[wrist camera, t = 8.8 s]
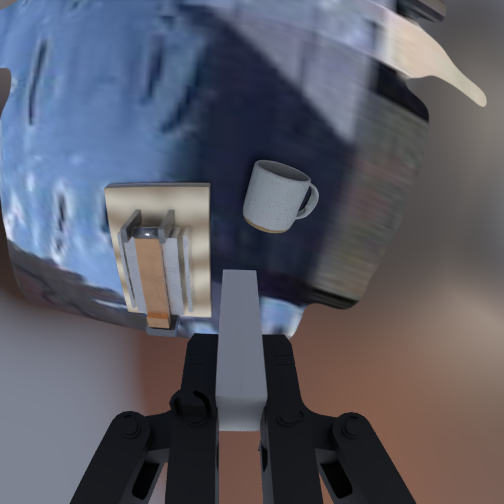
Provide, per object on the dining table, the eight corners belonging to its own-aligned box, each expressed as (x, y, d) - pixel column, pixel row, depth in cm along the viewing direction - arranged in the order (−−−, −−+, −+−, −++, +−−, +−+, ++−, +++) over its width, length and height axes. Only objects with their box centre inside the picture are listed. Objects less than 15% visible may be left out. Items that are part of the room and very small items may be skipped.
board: (109, 184, 38) (104, 188, 36) (210, 182, 39) (208, 187, 37) (131, 304, 50) (128, 311, 48) (211, 309, 51) (211, 317, 50)
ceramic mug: (239, 208, 41) (240, 231, 35) (253, 155, 37) (257, 168, 31) (305, 222, 43) (318, 247, 37) (322, 174, 39) (340, 191, 33)
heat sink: (122, 209, 38) (105, 228, 33) (190, 210, 39) (181, 229, 33) (140, 309, 48) (131, 335, 43) (196, 313, 49) (191, 340, 43)
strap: (136, 224, 36) (131, 231, 34) (160, 225, 36) (156, 231, 34) (151, 318, 44) (148, 326, 42) (171, 319, 44) (169, 328, 42)
